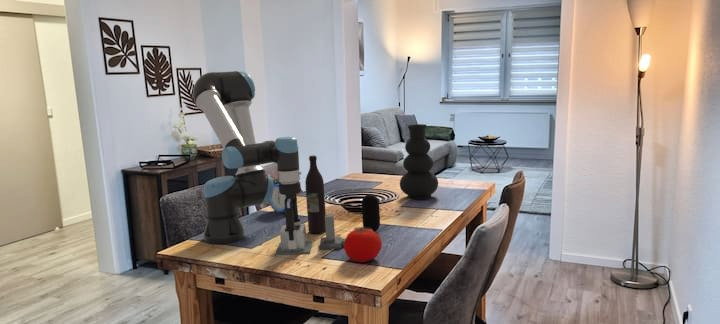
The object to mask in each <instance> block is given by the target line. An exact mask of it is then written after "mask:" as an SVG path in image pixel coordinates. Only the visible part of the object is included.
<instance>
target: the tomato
mask: <svg viewBox="0 0 720 324" xmlns="http://www.w3.org/2000/svg"><path fill="white" fill-rule="evenodd" d="M345 238H346V239H345V242H344V246H343V249H344V253H345V255H346V256H347V257H348V258H349V259H350V260H352V261H353V262H357V263H365V262H369V261H371V260H373V259H374V258H376V257H377V256H378V255H379V253H380V251H381V250H382V246H383V245H382V243H383V242H382V238H381V237H380V235H379V234H378V233H377V232H374V231H372V230H369V229H366V228H365V229H362V228H361V229H356V230H354V229H353V230H352V231H350V232H349V233H348V234H347V235H346V237H345Z"/></svg>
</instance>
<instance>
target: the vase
mask: <svg viewBox="0 0 720 324" xmlns="http://www.w3.org/2000/svg"><path fill="white" fill-rule="evenodd" d="M407 128H408V131H409V139H408V140H407V141H406V143H405V146H404V147H405V148H404V149H405V151H406V153H407V154H408V155H406V157H405V158H404V160H403V162H402V165H403V168H404V169H405V171H407V172H406V173H405V174H403V175H402V176H401V177H400V180H399V186H400V188H399V189H400V190H401V191H402V192H403V193H404V194H405V195H407V197H408V199H412V200H424V199H425V200H426V199H429V198H431V197H432V194H434V193H435V192H436V191H437V189H438V187H439V180H438V177H437V176H436V175H435V173H432V172H431V170H432V169H433V167H434V159H433V158H432V156H430V155H429V154H428V153H430V150H431V144H430V142H429V140H428V139H427V138H425V137H426V136H425V135H426V128H427V124H426V123H425V124H424V123H423V124H422V123H419V124H415V123H414V124H408V125H407Z"/></svg>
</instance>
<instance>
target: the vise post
mask: <svg viewBox="0 0 720 324" xmlns="http://www.w3.org/2000/svg"><path fill="white" fill-rule="evenodd" d="M325 227H326V232H325V237H323V236H322V237H320V241H319V250H321V251H322V250H324V251H325V250H338V249H342V247H344V242H345V239H346V237H343V238H342V236H336V229H335V215H334V214H326V215H325ZM361 228H362V229H365V228H366V229H369V230H372V229H371V227H363V226H361V227H360V226H359V227H358V226H357V227H353V230H356V229H361ZM372 231H373V230H372Z"/></svg>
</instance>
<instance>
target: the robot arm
mask: <svg viewBox="0 0 720 324" xmlns="http://www.w3.org/2000/svg"><path fill="white" fill-rule="evenodd" d="M255 92H256V86H255V83H254V81H253V79H252V77H251V75H250V74H249V73H248V72H246V71H238V70H235V71H220V72H219V71H218V72H217V71H216V72H215V71H211V72H210V71H209V72H207V73H204V74H203V75H201V76H199V78H197V80H196V81H195V84H194V85H193V89H192V98H193V101H194V103H195V105H196V108H198V109H199V110H201V111H202V112H203V114H204V115H205V118H206V119H207V121H208V122H209V125H210V127H211V128H212V130H213V132H214V133H215V136H216V137H217V139H218V141H219V142H220V144H221V146H222V148H223V149H222V150H221V159H222V164H223V166H224V167H225V168H227V169H229V170H231V169H232V170H233V169H237V172H236V173H235V177H234V176H232V175H225V176H219V177H215V178H212V179H210V180H207V182H205V183H204V186H203V198H204V204H205V214H206V224H205V226H204V227H205V228H204V232H203V240H204V242H205V243H206V244H212V245H213V244H214V245H223V244H230V243H233V242H237V241H240V240H242V239H243V238H244V237H245V229H244V227H243V225H242V223H241V219H240V218H239V214H238V213H239V212H238V209H243V208H248V207H253V206H259V205H262V204H266V203H269V201H270V199H271V198H272V195H273V190H274V186H273V180H274V179H273V178H272V176H271V174H269V173H266V170H265V168H264V167H263V166H261V165H267V164H271V163H275V164H276V166H277V167H276V168H277V179H278V181H279V182H280V183H279V193H280V194H282V195H286V198H285V200H284V204H285V213H284V215H285V225H286V230H285V232H286V231H287V236H288V249H296V248H297V247H296V233H295V228H294V225H297V224H299V223H300V222H301V219H300V218H299V212H298V211H299V210H298V202H297V201H298V197H296V196H297V195H298V194H300V193H301V191H302V189H301V188H302V186H301V185H302V184H301V182H300V180H301V175H302V171H300V159H299V157H300V156H299V146H298V139H297V138H296V137H294V136H283V137H277V138H276V139H275V140H264V141H262V142H260V143H258V142H257V143H256V138H255V133H254V126H253V123H252V121H253V120H252V117H251V112H250V106H251V105H252V104H253V103H252V100H254V98H255V96H256V93H255Z"/></svg>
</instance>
